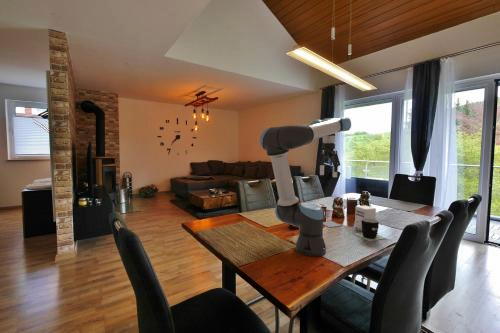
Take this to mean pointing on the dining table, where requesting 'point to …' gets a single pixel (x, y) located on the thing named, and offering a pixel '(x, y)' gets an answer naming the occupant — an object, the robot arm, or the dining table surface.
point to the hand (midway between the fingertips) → (328, 176)
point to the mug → (370, 228)
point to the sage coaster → (369, 239)
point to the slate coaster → (331, 224)
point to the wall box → (363, 214)
